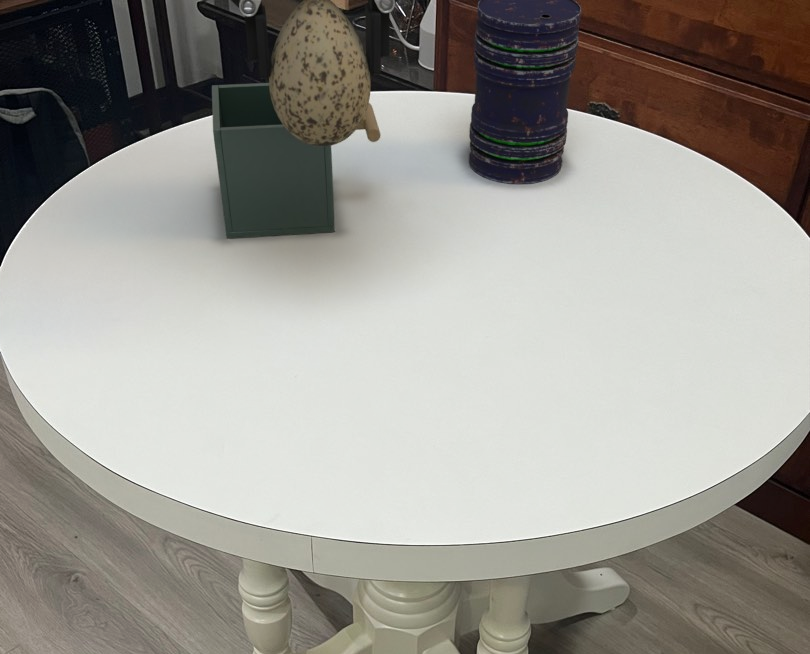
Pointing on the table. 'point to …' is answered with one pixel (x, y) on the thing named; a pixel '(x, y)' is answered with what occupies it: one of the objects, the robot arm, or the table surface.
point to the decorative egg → (319, 75)
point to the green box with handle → (270, 167)
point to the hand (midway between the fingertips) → (319, 67)
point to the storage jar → (522, 88)
